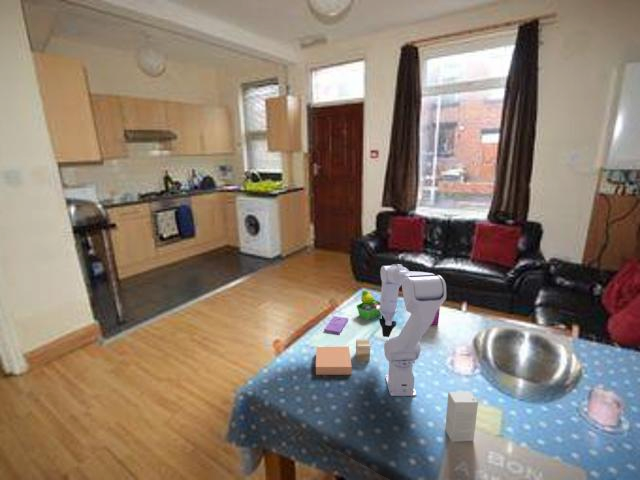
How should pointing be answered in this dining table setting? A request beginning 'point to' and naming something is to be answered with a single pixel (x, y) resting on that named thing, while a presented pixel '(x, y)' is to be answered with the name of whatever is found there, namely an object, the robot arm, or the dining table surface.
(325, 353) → the terracotta plinth
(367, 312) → the fruit basket
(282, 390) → the dining table surface
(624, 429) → the dining table surface
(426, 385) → the dining table surface
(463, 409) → the skincare box
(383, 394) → the dining table surface
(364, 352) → the beech block
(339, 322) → the sponges
